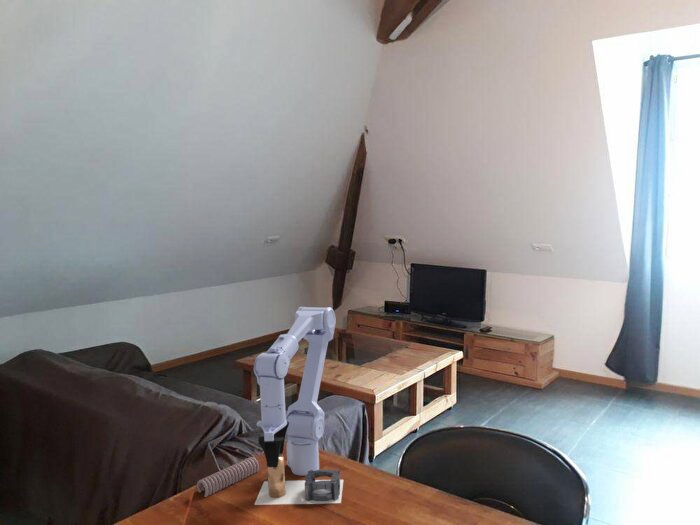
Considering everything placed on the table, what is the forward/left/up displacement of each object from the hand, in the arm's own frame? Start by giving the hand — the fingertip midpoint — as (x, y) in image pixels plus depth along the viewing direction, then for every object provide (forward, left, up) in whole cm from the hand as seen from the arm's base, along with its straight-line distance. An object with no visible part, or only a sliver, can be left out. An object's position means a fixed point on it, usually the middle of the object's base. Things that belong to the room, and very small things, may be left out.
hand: (275, 459), depth 134 cm
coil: (-13, -8, -10) cm, 18 cm away
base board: (+2, +5, -9) cm, 11 cm away
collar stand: (+5, +9, -9) cm, 14 cm away
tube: (0, 0, -8) cm, 8 cm away
